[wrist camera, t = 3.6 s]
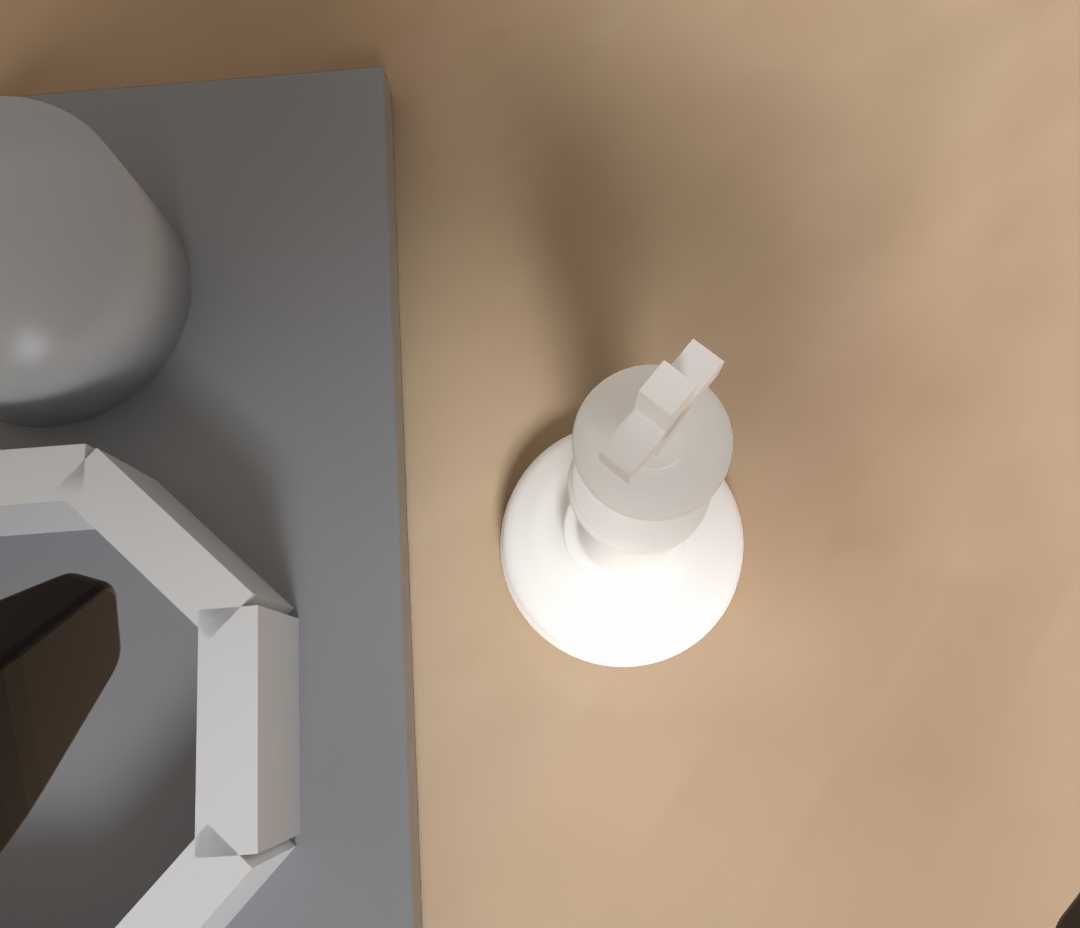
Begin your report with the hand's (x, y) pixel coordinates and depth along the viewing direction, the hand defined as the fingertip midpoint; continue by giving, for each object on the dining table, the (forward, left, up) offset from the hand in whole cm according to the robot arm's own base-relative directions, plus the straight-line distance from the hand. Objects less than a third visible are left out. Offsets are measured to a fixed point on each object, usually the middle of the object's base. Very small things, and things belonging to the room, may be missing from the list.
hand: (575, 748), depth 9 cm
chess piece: (+3, +3, -11) cm, 11 cm away
